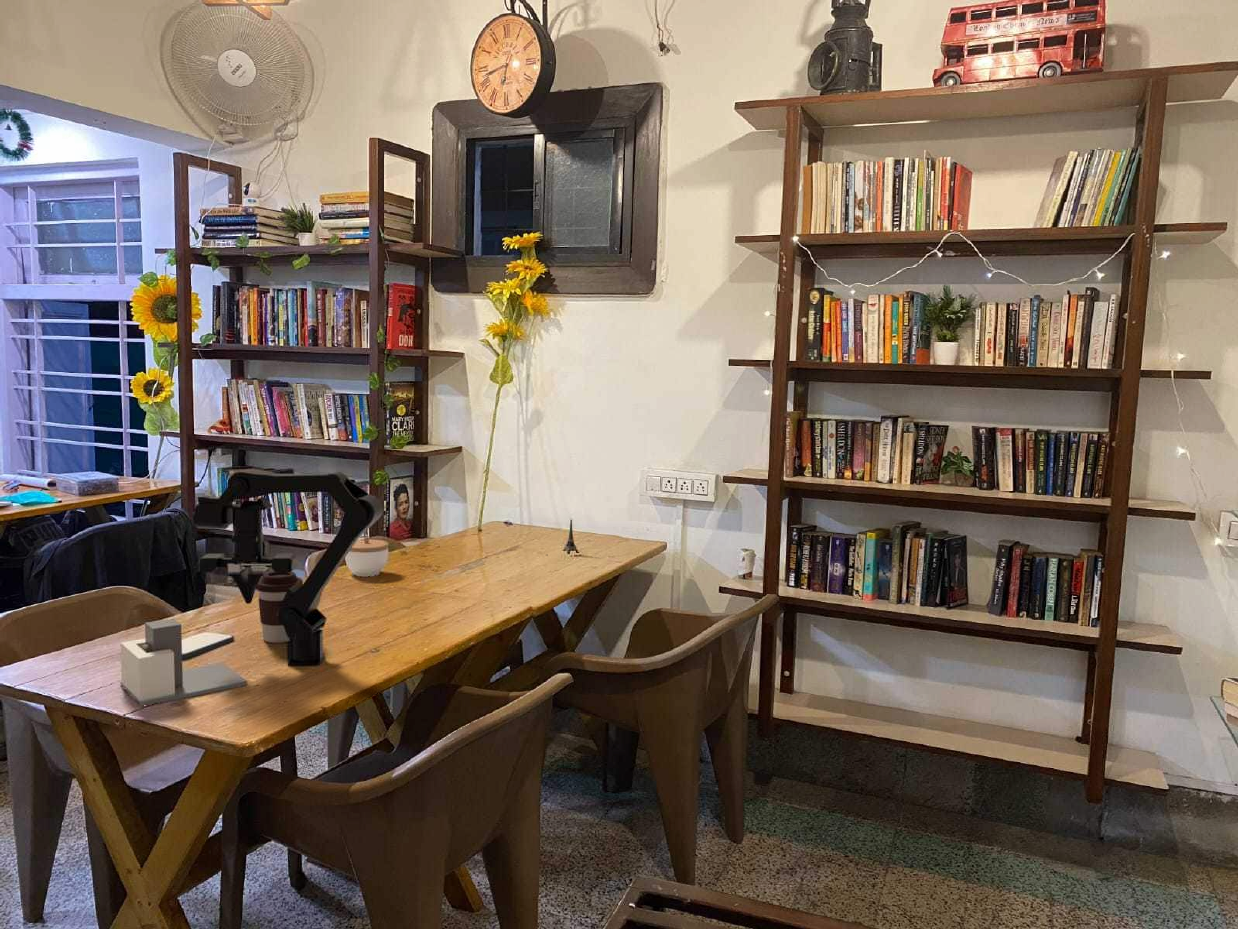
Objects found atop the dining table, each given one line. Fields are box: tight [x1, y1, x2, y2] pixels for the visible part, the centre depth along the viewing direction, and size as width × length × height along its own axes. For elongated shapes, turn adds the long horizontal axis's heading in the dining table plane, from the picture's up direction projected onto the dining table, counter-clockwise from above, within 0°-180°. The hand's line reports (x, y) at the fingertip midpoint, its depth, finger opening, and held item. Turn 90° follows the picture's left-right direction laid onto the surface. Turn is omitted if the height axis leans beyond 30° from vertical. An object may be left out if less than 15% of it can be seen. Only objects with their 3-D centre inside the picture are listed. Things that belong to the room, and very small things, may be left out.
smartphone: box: [182, 631, 235, 661], centre depth 206 cm, size 9×2×16 cm
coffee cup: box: [256, 570, 304, 644], centre depth 213 cm, size 10×10×15 cm
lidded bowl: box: [344, 536, 390, 578], centre depth 277 cm, size 13×13×11 cm
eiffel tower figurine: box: [562, 518, 580, 554], centre depth 312 cm, size 15×10×13 cm
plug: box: [143, 618, 183, 687], centre depth 179 cm, size 6×5×12 cm
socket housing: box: [120, 638, 248, 707], centre depth 182 cm, size 19×14×9 cm
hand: (248, 603), depth 198 cm, fingers closed
